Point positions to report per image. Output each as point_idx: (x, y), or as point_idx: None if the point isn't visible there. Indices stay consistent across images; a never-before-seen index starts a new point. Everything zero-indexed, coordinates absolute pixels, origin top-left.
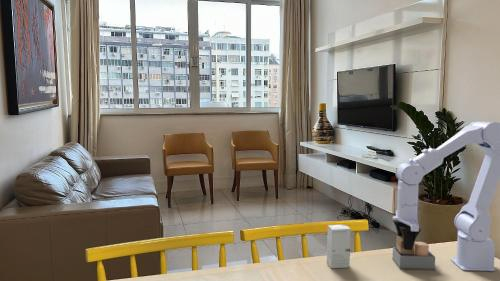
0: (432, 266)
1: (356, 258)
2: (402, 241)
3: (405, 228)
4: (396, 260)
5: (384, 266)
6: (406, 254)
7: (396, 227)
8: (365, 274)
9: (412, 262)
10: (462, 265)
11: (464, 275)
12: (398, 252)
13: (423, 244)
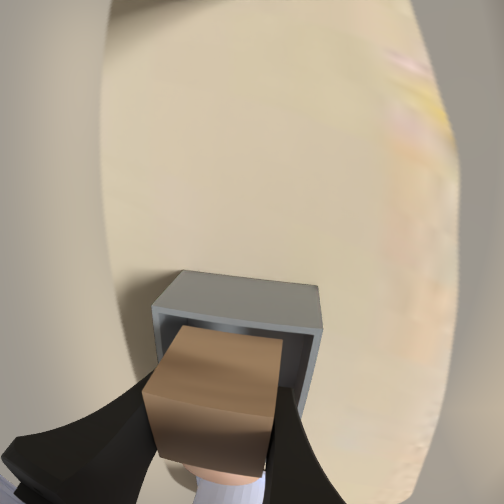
0: None
1: (342, 58)
2: (148, 396)
3: (14, 472)
4: (235, 288)
5: (215, 196)
6: (300, 372)
7: (294, 493)
8: (121, 65)
9: None
10: None
11: None
12: (308, 340)
13: (216, 471)
